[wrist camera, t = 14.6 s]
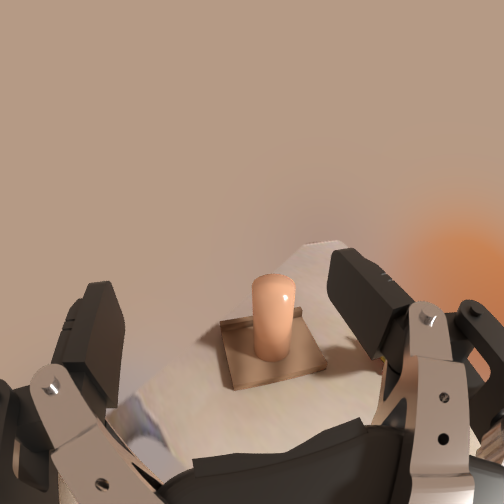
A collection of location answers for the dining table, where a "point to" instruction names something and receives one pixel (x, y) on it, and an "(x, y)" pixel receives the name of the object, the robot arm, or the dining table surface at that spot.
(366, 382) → the dining table surface
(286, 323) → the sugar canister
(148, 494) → the robot arm
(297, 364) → the walnut board
